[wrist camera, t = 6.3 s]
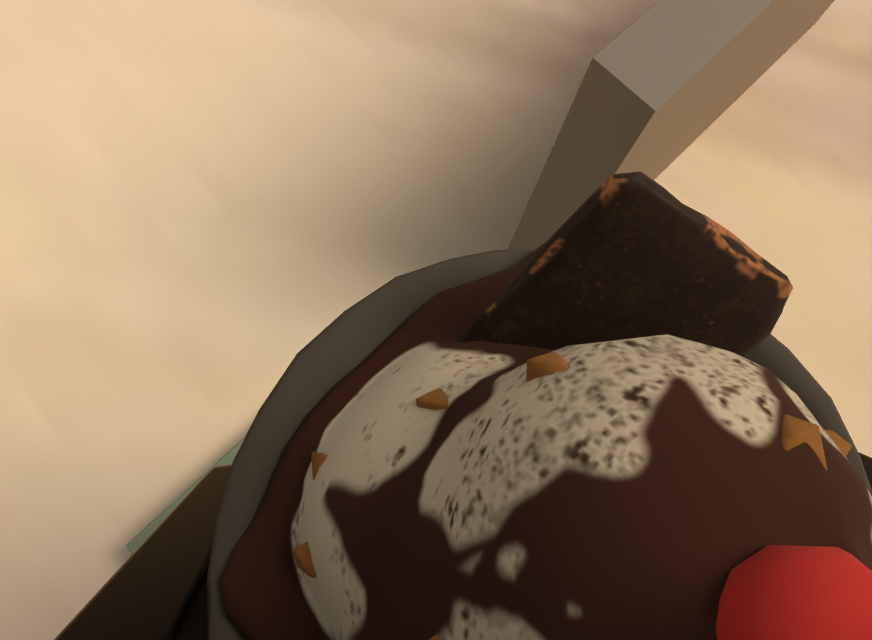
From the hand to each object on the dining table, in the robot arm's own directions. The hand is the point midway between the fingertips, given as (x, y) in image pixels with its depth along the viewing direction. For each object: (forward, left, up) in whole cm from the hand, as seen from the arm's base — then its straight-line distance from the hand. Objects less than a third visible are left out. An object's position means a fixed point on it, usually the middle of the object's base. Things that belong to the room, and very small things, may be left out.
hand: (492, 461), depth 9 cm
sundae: (-1, -1, -8) cm, 8 cm away
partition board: (+15, +3, -12) cm, 19 cm away
